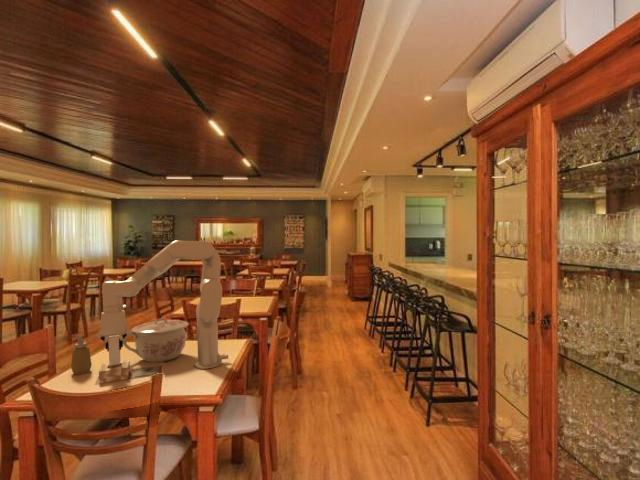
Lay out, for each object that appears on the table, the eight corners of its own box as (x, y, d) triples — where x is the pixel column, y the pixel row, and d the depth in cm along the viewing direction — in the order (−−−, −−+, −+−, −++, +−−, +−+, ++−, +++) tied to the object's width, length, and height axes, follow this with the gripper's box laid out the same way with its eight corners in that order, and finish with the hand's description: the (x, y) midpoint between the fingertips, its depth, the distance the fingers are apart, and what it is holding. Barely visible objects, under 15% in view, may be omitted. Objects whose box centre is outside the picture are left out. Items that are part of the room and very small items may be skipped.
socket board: (161, 367, 181) (161, 355, 181) (161, 376, 170) (161, 363, 169) (99, 376, 171) (98, 363, 171) (94, 387, 159) (94, 373, 159)
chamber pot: (198, 350, 208) (197, 312, 208) (174, 367, 181) (173, 324, 180) (150, 350, 211) (148, 313, 210) (119, 367, 183) (117, 324, 183)
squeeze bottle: (88, 370, 181) (86, 332, 181) (94, 373, 176) (93, 335, 175) (68, 375, 175) (67, 336, 174) (75, 379, 169) (73, 339, 169)
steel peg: (120, 361, 171) (119, 335, 170) (119, 364, 167) (118, 337, 167) (110, 362, 169) (109, 336, 169) (109, 365, 165) (108, 338, 165)
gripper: (134, 305, 174) (135, 345, 175) (92, 309, 168) (94, 350, 168) (133, 308, 167) (134, 349, 168) (89, 312, 161) (91, 355, 161)
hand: (114, 349), depth 168 cm, fingers closed on steel peg, 4 cm apart
